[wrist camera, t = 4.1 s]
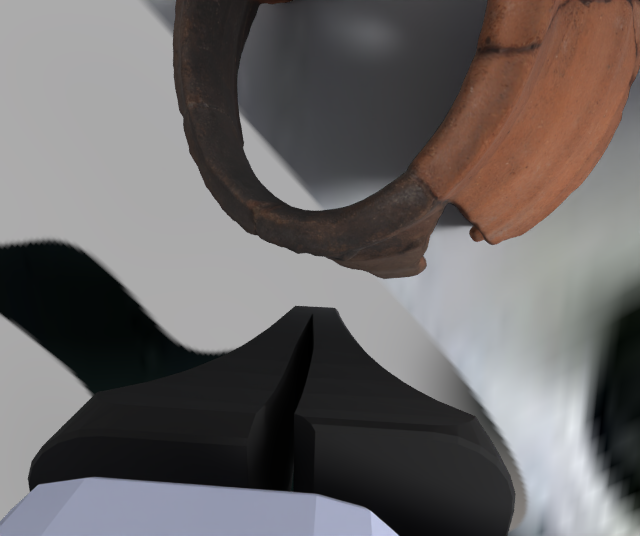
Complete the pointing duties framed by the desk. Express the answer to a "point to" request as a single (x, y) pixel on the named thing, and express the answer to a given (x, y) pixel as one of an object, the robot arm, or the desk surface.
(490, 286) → the desk surface
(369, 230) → the orange curved piece
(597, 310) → the desk surface
